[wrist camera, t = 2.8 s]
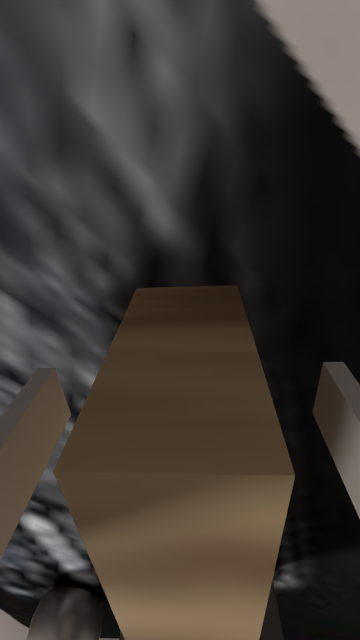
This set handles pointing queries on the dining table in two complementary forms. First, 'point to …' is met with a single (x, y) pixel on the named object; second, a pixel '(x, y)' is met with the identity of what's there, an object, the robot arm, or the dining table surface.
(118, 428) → the tan wooden block
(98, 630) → the plastic bottle
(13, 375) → the dining table surface
